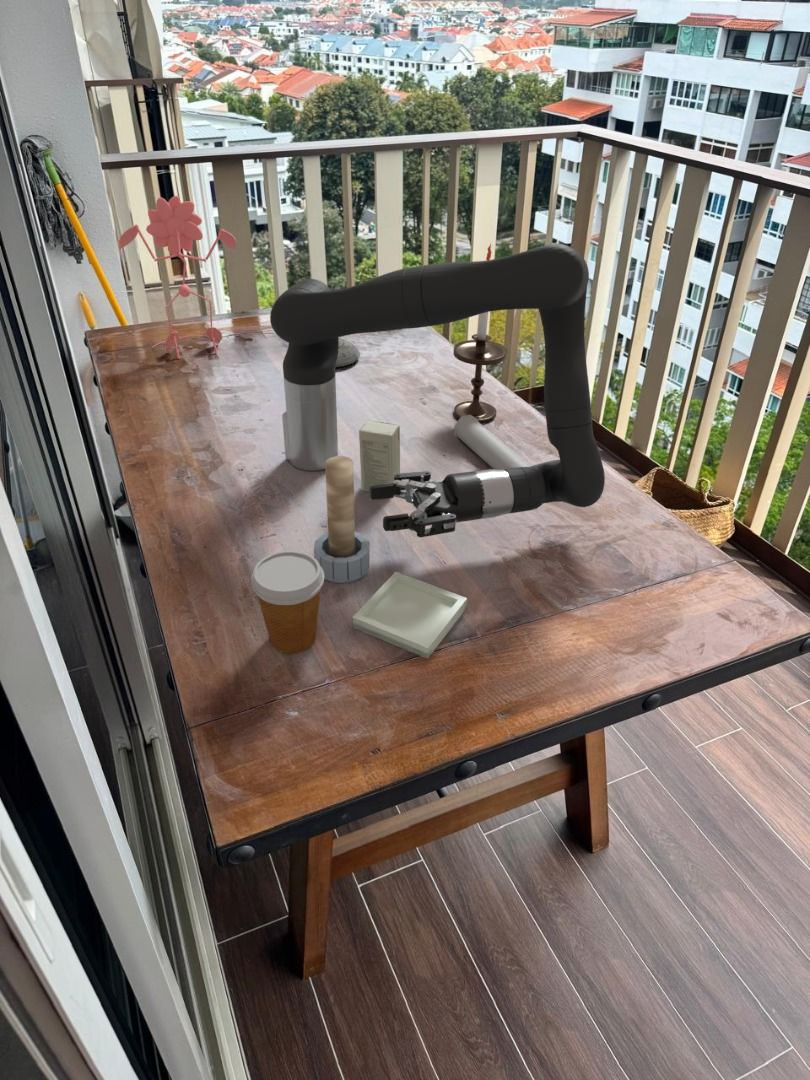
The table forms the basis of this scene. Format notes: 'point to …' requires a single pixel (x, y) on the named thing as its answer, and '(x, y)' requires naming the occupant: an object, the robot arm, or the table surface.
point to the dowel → (340, 506)
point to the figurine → (178, 248)
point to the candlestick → (479, 367)
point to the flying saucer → (346, 353)
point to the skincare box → (379, 453)
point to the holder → (343, 560)
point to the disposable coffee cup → (289, 598)
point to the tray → (410, 614)
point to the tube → (487, 444)
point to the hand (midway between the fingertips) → (376, 508)
